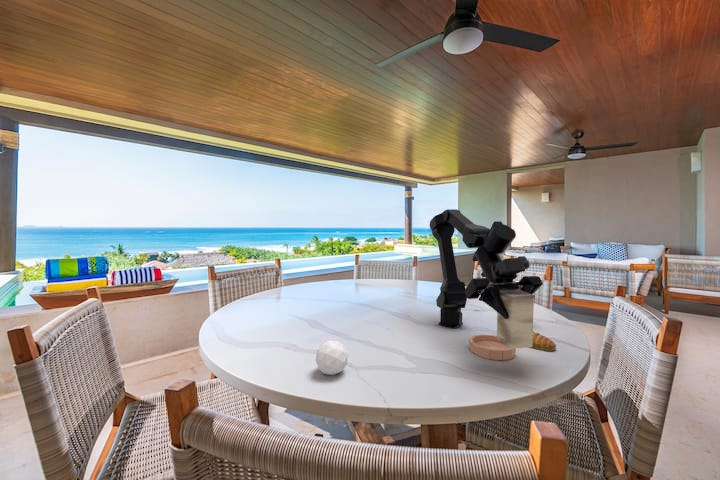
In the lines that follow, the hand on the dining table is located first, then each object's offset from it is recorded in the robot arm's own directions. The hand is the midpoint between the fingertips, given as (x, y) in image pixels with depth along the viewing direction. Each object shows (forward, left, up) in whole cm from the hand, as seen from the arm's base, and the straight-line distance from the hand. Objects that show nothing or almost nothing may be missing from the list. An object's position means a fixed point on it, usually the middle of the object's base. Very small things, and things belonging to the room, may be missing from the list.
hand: (518, 317), depth 72 cm
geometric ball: (-34, -29, -14) cm, 47 cm away
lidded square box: (-1, +1, -7) cm, 7 cm away
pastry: (-1, +21, -14) cm, 26 cm away
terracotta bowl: (-9, +9, -13) cm, 18 cm away
